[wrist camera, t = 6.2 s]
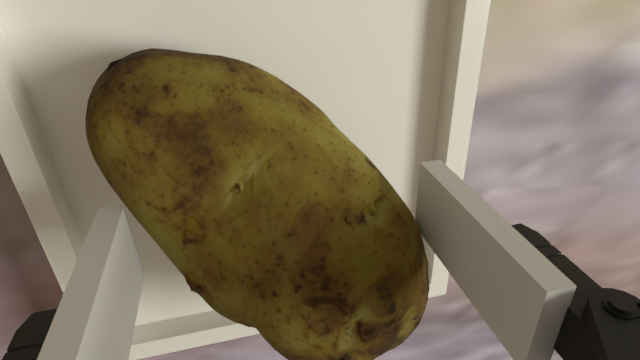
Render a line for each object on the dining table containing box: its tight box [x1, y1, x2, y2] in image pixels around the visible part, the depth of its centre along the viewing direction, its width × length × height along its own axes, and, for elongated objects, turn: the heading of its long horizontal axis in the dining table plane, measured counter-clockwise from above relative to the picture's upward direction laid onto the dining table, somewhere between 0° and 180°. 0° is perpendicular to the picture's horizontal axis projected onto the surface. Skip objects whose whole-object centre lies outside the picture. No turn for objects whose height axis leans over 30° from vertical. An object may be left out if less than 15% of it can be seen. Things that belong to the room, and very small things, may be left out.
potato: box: [85, 48, 429, 360], centre depth 15 cm, size 8×13×8 cm, turn 25°
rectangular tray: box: [0, 0, 491, 360], centre depth 19 cm, size 18×18×4 cm
